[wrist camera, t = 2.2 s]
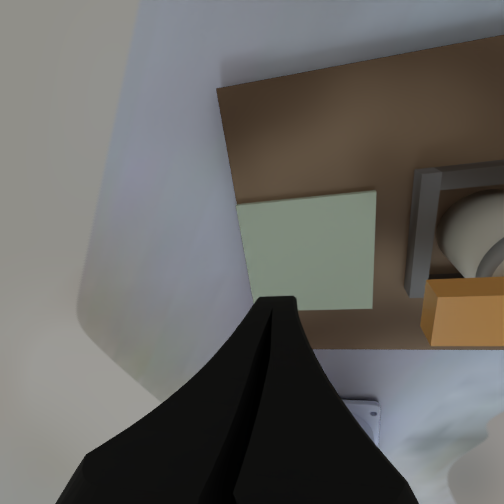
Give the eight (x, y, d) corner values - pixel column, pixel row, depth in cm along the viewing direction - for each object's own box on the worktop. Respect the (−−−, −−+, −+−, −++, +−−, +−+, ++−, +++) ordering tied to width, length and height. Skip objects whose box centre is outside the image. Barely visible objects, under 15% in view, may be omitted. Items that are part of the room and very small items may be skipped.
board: (581, 337, 17) (716, 453, 12) (264, 338, 21) (250, 426, 16) (735, -7, 10) (1258, -134, 5) (221, 89, 14) (166, 83, 9)
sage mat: (371, 305, 17) (372, 308, 17) (255, 308, 19) (255, 311, 19) (375, 190, 14) (376, 191, 14) (236, 204, 16) (235, 205, 16)
